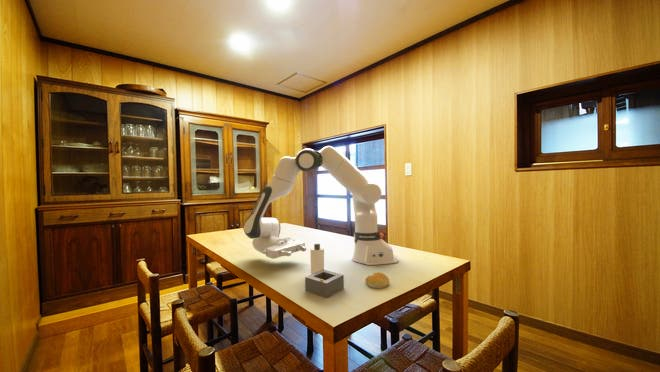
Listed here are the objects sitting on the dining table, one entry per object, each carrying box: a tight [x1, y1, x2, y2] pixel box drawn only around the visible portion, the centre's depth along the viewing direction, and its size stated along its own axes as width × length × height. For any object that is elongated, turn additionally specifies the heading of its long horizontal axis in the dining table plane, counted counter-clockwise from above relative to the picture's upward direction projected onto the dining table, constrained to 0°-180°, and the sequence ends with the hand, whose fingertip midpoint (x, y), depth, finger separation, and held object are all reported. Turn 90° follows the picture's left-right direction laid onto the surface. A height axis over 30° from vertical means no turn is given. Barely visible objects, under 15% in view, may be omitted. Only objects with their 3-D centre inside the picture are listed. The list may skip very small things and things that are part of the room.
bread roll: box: [365, 272, 390, 289], centre depth 101 cm, size 8×9×4 cm
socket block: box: [304, 269, 345, 299], centre depth 97 cm, size 10×10×5 cm
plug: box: [309, 243, 325, 275], centre depth 111 cm, size 4×4×13 cm
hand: (297, 251), depth 119 cm, fingers open, 8 cm apart
